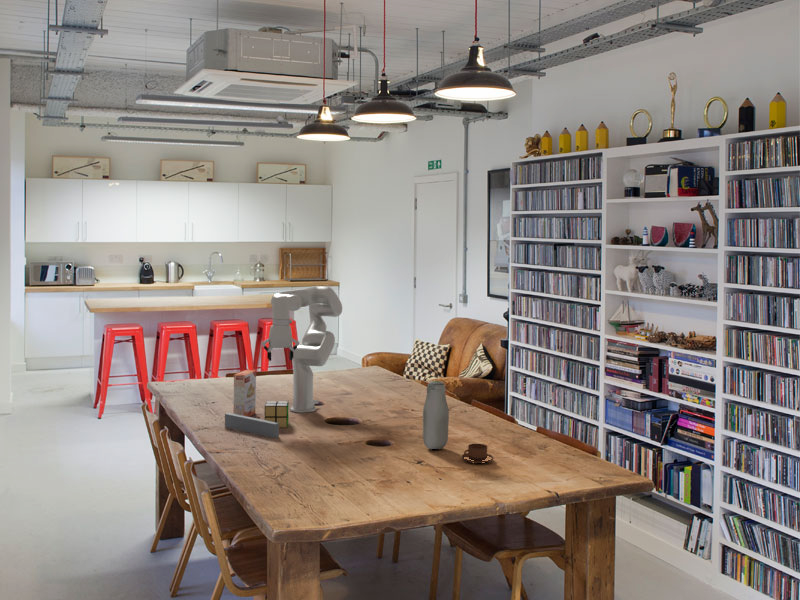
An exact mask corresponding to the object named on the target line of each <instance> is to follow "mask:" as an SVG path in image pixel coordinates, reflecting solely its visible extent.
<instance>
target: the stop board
mask: <svg viewBox="0 0 800 600" xmlns="http://www.w3.org/2000/svg"><path fill="white" fill-rule="evenodd" d="M224 428H227V429H231V430H236V431H241V432H244V433H245V432H246V433H249V434H254V435H260V436H263V437H268V438H273V439H277V438H280V428H279V423H276V422H271V421H266V420H265V419H260V418H255V417H252V416H250V417H247V416H242V415H237V414H233V413H231V412H226V413H224Z"/></svg>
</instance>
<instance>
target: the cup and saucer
mask: <svg viewBox="0 0 800 600" xmlns="http://www.w3.org/2000/svg"><path fill="white" fill-rule="evenodd" d="M467 447H468V449H465V451H464V452H463V454H462V455H461V459H462V460H464V461H465V462H467V461H468V462H467V463H470V462H474V463H473V464H475V463H482V462H488V463H490V462H492V461H493V459H494V456H492V455H491V454H489V453H488V445H486V444H484V443H470V444H468V445H467ZM487 456H489V457H491V458H492V459H491V460H492V461H491V460H488V461H482V460H485V459H486V458H487ZM464 457H469V459H471V460H474V461H471V460H467V459H464ZM489 461H490V462H489Z"/></svg>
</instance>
